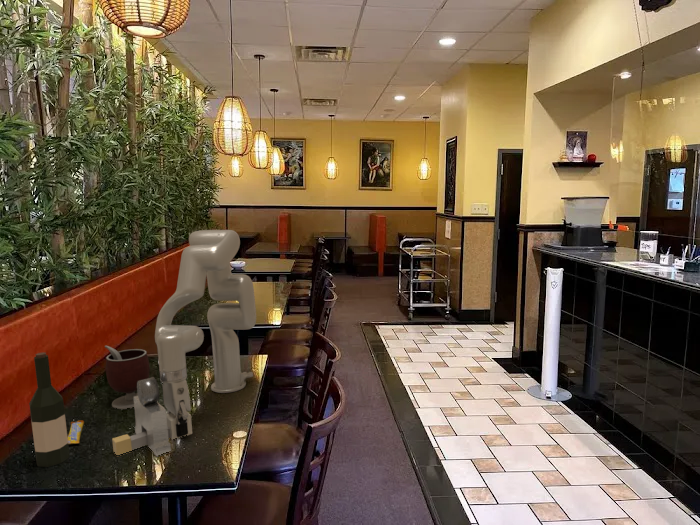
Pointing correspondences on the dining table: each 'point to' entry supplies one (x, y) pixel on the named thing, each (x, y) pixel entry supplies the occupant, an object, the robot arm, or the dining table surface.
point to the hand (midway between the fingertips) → (178, 431)
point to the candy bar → (75, 432)
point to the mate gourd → (126, 374)
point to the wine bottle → (48, 418)
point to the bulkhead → (151, 416)
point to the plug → (139, 440)
